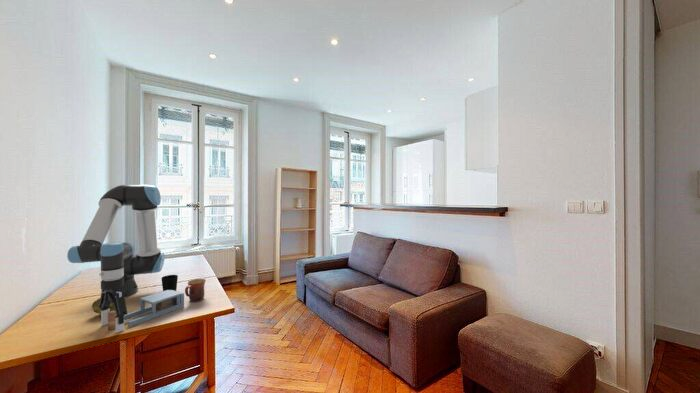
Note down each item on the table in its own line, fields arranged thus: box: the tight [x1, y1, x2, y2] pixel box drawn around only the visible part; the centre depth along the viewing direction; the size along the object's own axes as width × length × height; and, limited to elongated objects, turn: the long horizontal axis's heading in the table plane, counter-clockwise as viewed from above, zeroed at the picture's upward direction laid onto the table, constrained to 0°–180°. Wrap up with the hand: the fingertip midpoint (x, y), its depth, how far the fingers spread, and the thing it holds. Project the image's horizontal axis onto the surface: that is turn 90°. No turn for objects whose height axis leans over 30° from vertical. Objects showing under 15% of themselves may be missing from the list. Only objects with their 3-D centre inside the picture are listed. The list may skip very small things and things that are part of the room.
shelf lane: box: [124, 290, 185, 328], centre depth 131 cm, size 11×24×8 cm, turn 153°
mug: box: [184, 278, 206, 302], centre depth 146 cm, size 12×9×10 cm
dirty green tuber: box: [91, 298, 115, 316], centre depth 129 cm, size 8×13×8 cm, turn 69°
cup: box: [161, 274, 179, 291], centre depth 150 cm, size 8×8×12 cm
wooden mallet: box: [107, 299, 173, 331], centre depth 126 cm, size 5×25×7 cm, turn 153°
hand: (112, 327), depth 117 cm, fingers open, 12 cm apart
